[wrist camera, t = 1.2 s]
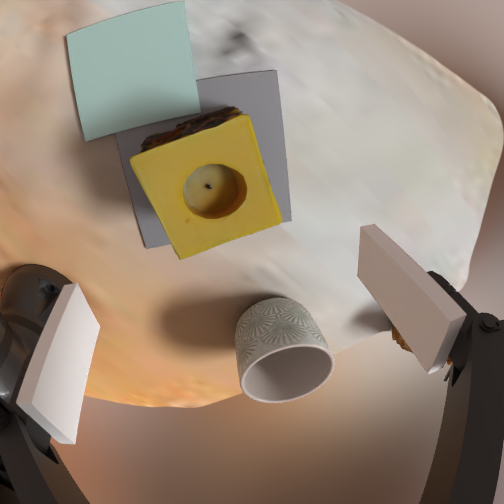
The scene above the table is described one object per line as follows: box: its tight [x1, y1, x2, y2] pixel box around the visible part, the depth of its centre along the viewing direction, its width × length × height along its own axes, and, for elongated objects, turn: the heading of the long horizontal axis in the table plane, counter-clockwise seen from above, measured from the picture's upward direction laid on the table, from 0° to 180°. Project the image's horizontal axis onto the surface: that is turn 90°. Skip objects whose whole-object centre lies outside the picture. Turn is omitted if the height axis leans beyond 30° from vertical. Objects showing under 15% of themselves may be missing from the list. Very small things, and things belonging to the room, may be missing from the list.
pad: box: [67, 1, 201, 142], centre depth 26 cm, size 13×13×1 cm
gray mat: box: [115, 70, 292, 249], centre depth 32 cm, size 18×18×1 cm
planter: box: [235, 298, 335, 403], centre depth 41 cm, size 12×12×11 cm
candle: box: [130, 106, 283, 260], centre depth 28 cm, size 10×10×10 cm
